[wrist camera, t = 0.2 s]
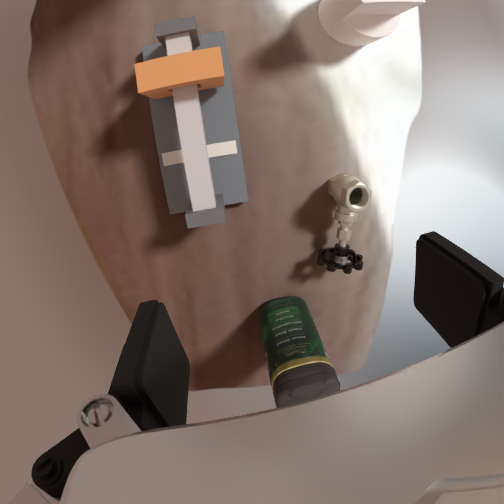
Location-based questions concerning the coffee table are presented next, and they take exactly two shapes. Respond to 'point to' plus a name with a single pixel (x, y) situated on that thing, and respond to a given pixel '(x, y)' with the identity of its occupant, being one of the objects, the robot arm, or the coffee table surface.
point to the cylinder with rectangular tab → (361, 19)
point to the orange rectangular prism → (180, 72)
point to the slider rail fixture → (197, 133)
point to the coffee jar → (295, 353)
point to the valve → (345, 221)
